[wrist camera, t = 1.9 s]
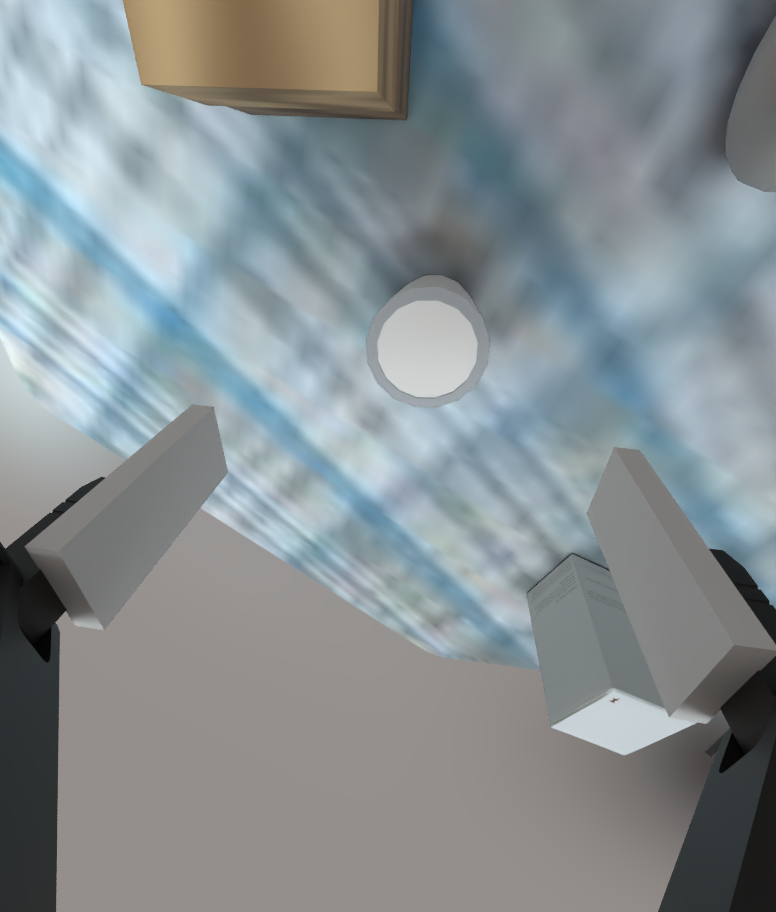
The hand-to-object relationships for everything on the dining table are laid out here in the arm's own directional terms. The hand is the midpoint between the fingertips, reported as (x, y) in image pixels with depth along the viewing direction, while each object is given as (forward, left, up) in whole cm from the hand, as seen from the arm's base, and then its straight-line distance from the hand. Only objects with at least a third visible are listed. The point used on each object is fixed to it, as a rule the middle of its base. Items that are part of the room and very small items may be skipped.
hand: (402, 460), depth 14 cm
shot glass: (0, 0, -18) cm, 18 cm away
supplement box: (-17, +25, -18) cm, 35 cm away
